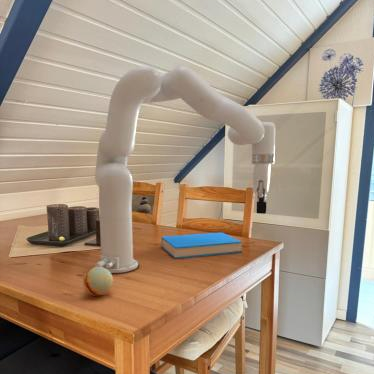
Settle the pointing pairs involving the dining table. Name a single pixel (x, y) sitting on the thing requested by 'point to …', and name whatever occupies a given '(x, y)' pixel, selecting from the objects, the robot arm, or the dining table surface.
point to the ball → (98, 281)
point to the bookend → (97, 240)
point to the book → (200, 245)
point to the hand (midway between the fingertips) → (261, 213)
